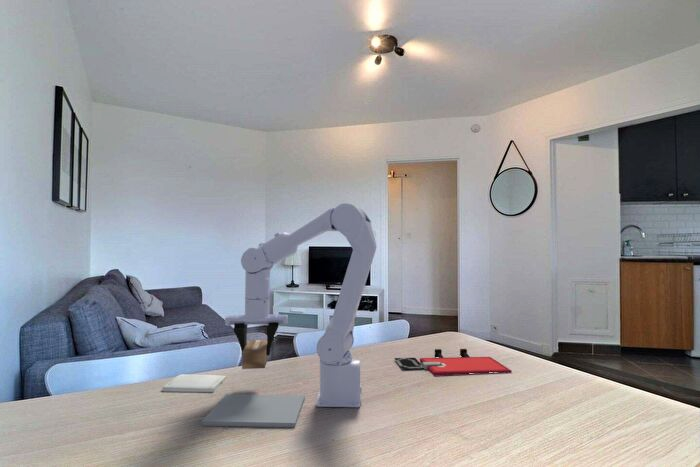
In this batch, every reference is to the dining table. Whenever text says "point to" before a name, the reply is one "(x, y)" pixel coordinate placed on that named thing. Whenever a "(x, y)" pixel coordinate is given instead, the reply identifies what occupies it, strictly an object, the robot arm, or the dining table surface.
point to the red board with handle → (454, 364)
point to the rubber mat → (256, 411)
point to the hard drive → (195, 383)
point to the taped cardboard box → (255, 354)
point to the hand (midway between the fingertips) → (256, 354)
